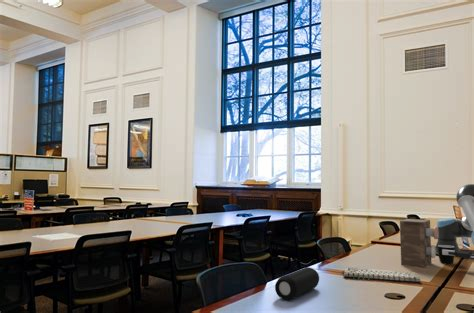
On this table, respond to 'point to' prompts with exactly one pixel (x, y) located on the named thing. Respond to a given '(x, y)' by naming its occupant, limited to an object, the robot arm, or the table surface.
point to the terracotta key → (432, 232)
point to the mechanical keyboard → (380, 275)
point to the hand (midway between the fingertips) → (442, 251)
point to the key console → (415, 243)
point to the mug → (445, 258)
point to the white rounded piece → (431, 251)
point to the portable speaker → (296, 283)
